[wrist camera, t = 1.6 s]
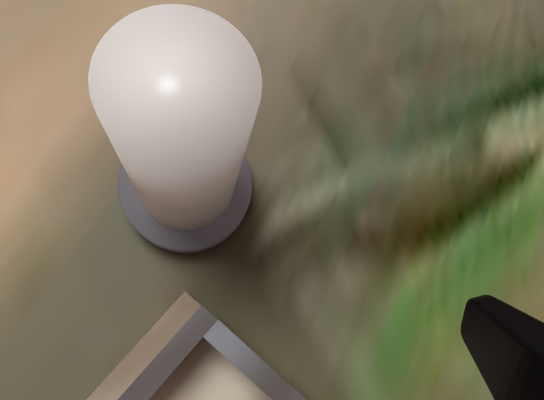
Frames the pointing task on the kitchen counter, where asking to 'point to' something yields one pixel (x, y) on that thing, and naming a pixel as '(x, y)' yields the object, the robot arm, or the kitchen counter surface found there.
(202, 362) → the grey compartment tray
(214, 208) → the white bulb
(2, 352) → the kitchen counter surface
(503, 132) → the kitchen counter surface
